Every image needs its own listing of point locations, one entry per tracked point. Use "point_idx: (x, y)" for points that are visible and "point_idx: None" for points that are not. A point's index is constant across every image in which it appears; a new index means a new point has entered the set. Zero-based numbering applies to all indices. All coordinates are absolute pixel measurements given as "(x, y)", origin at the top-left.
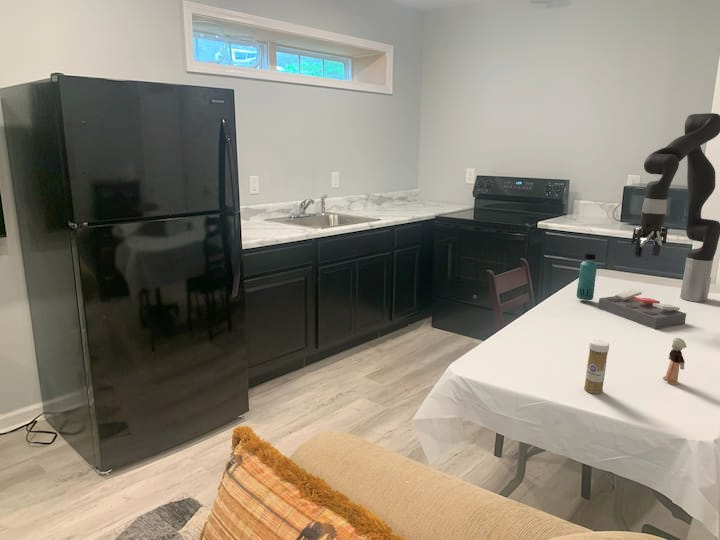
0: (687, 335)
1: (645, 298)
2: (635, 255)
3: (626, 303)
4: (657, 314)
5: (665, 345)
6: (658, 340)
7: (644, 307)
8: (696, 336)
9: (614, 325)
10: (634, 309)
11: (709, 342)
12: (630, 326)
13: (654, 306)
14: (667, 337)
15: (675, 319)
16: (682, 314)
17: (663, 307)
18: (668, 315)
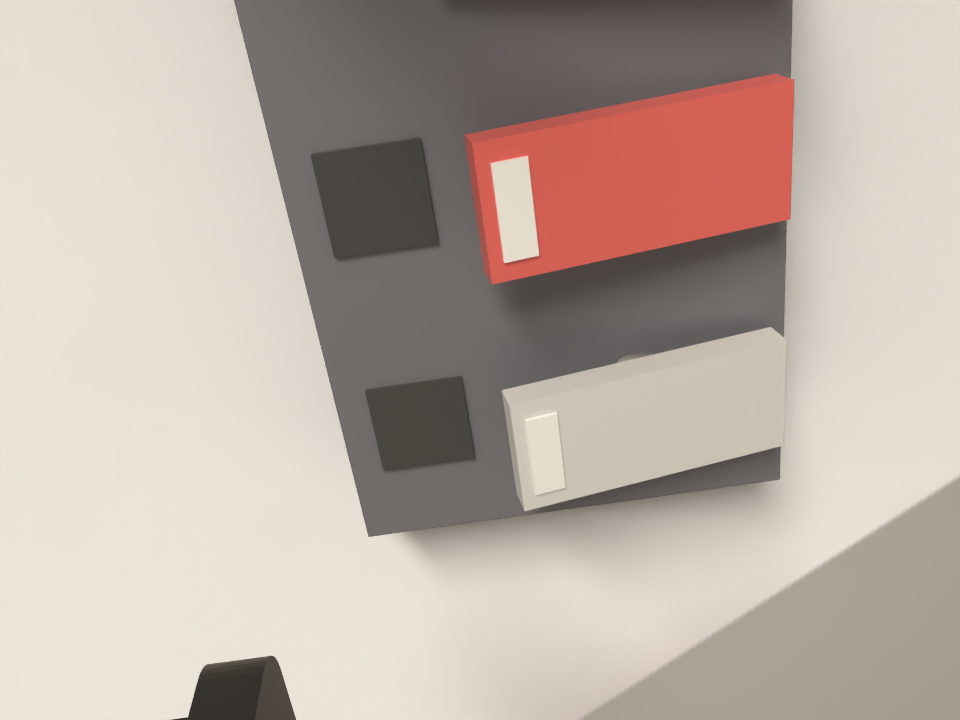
0: (528, 604)
1: (655, 141)
2: (208, 686)
3: (412, 57)
4: (466, 458)
5: None
6: (229, 641)
7: None
8: (576, 627)
9: (59, 333)
10: (341, 285)
11: (561, 710)
12: (203, 380)
13: None
14: (342, 611)
15: None
16: (722, 485)
17: (533, 500)
18: None
